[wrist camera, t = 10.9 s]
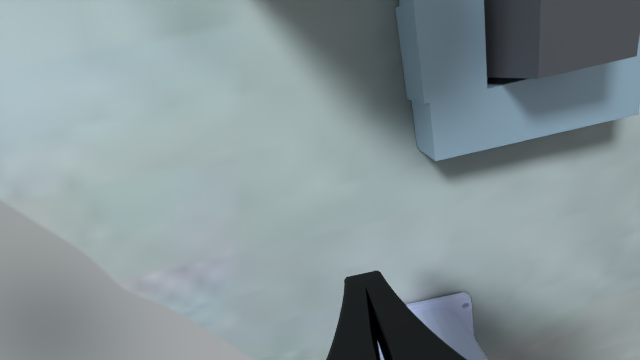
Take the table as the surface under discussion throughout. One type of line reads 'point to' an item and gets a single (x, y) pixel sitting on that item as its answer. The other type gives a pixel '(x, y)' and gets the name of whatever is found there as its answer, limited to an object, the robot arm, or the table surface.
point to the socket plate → (495, 85)
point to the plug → (557, 35)
